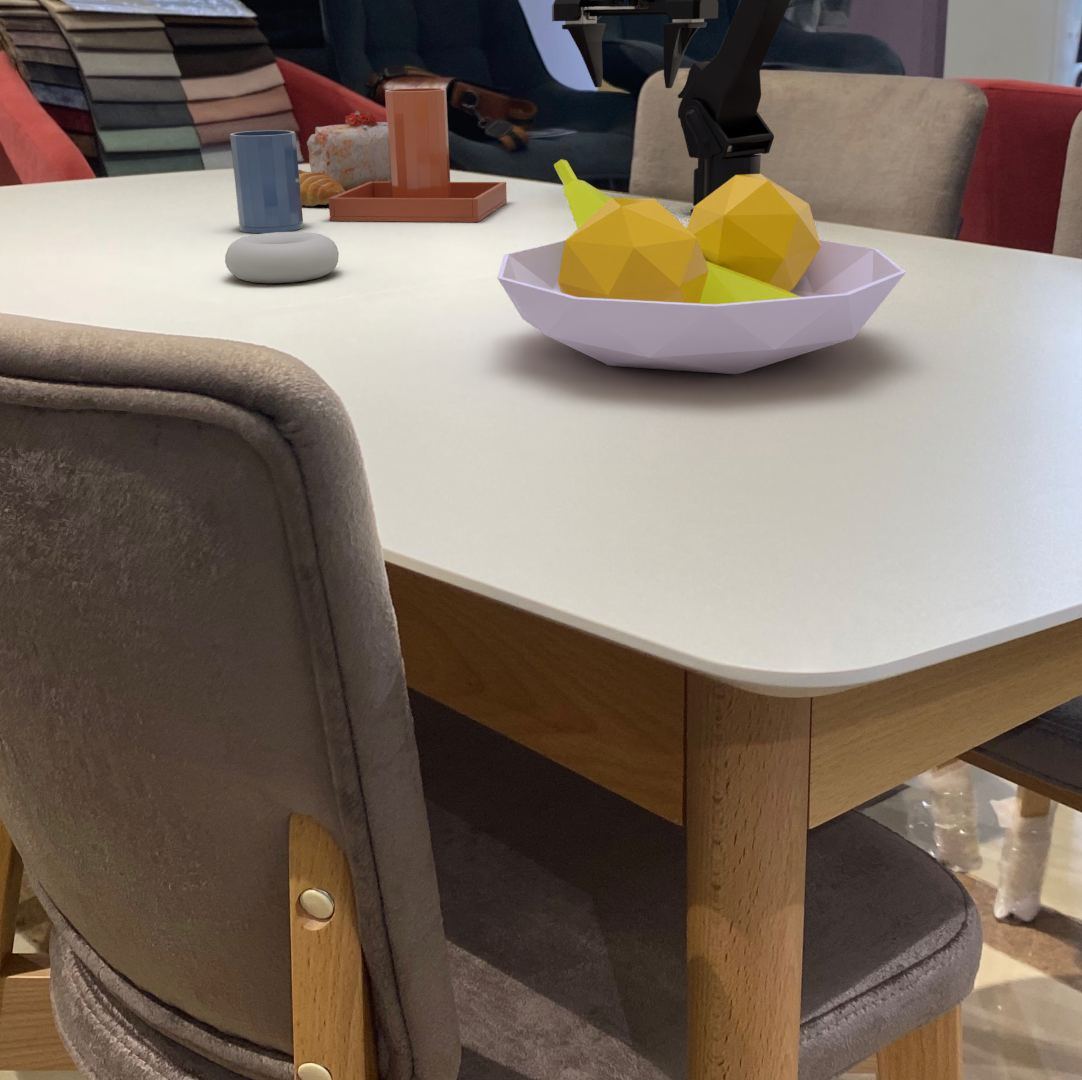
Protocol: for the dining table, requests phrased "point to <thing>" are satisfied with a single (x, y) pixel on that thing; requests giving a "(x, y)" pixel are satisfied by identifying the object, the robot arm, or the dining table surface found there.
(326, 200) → the pastry
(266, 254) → the donut
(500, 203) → the tray
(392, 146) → the terracotta cup
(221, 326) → the dining table surface
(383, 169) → the food item
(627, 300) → the fruit bowl
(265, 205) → the slate cup
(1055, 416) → the dining table surface
